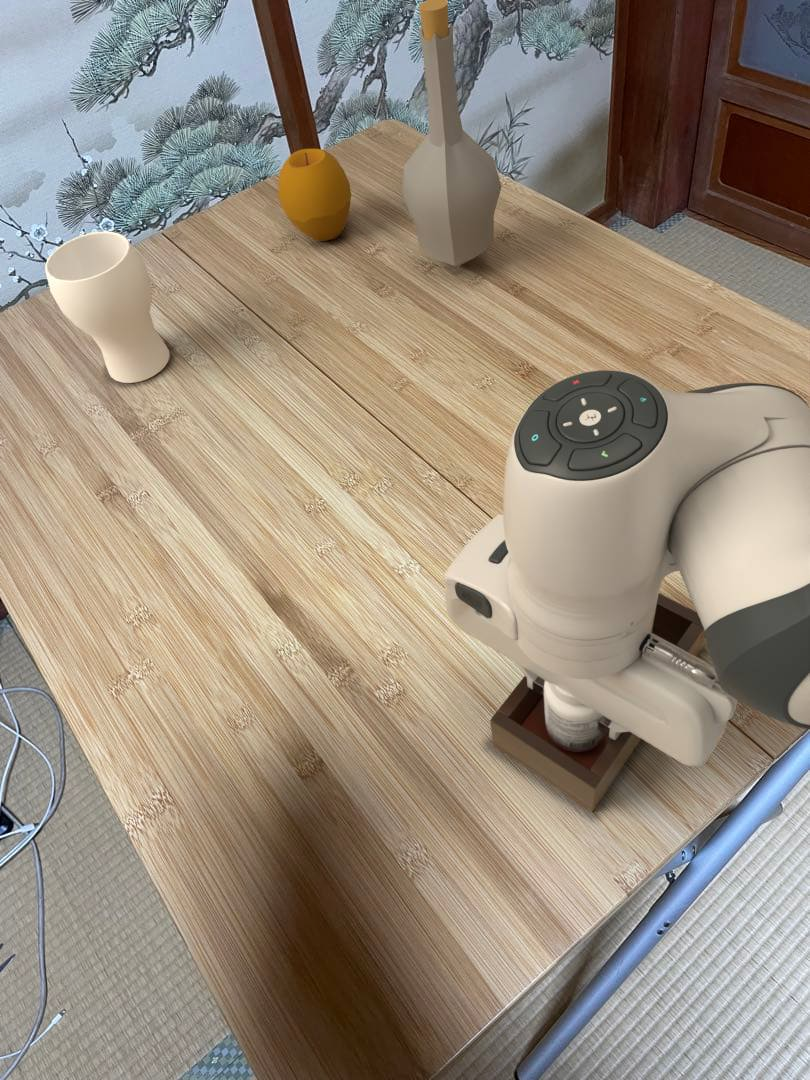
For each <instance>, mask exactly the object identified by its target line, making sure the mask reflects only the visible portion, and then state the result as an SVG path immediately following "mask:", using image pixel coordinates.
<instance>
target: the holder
mask: <svg viewBox="0 0 810 1080" xmlns="http://www.w3.org/2000/svg"><path fill="white" fill-rule="evenodd" d="M704 632H705V630H704V627H703V625H702V623H701V620H700V618H699V616H698V613H697V611H696V610H693V609H691V608H689V607H687V606H685V605H683V604H681V603H679V602H678V601H676V600H674V599H671V598H670V597H668V596H666V595H663V594H661V593H660V592H659V594H658V600H657V605H656V611H655V617H654V623H653V628H652V633H653V634H655V635H656V636H658V637H660V638H662V639H664V640H666V641H668V642H669V643H671V644H673V645H675V646H677V647H679V648H681V649H683V650H684V651H686V652H688V653H690V654H692V655H694V656H696V657H697V658H698V655H699V654H700V652H701V651H702V649H703V646H704V643H705V637H704ZM489 722H490V731H491V737H492V740H491V741H492V746H493V747H495V748H496V749H497V750H499V751H501V752H502V753H504V754H505V755H507V756H508V757H509V758H511V759H512V760H514V761H515V762H516V763H518V764H520V765H521V766H523V767H524V768H526V769H527V770H528V771H530V772H532V773H533V774H534V775H536V776H537V777H539V778H540V779H542V780H544V781H545V782H546V783H548V784H549V785H550V786H552V787H553V788H555V789H557V790H558V791H560V792H562V793H563V794H564V795H566V796H567V797H569V798H570V799H572V800H573V801H575V802H576V803H578V804H579V805H580V806H582V807H584V809H586V810H588V811H589V812H591V813H592V812H593V811H594V810H595V808H596V807H597V805H598V804H599V803H600V801H601V799H602V798H603V797H604V795H605V793H606V792H607V791H608V789H609V788H610V786H611V785H612V783H613V782H614V780H615V779H616V778H617V776H618V774H619V773H620V771H621V770H622V768H623V767H624V765H625V764H626V762H627V761H628V759H629V758H630V756H631V755H632V753H633V752H634V751H635V749H636V748H637V746H638V745H639V743H640V742H641V740H642V739H641V738H639V737H638V736H636V735H634V734H633V733H631V732H621V734H620V735H619V736H618V738H617V739H616V740H613V739H612V738H610V737H609V736H607V735H606V734H605V737H604V738H603V740H602V741H601V742H600V743H599V744H598V745H597V746H596V747H594V748H592V749H590V750H588V751H583V752H573V751H568V750H566V749H563V748H562V747H560V746H558V745H557V744H556V743H555V742H554V741H553V740H552V739H551V738H550V736H549V734H548V732H547V730H546V725H545V707H544V696H542V695H541V694H539V693H537V692H535V691H534V690H532V689H531V688H529V687H528V686H527V677H525V675H523V677H522V678H521V680H520V681H519V682H518V684H517V685H516V687H514V688H513V690H512V691H511V693H510V694H509V695H508V697H507V698H506V699H505V700H504V701H503V703H502V704H501V705H500V707H499V708H498V709H497V710H496V712H495V713H494V714H493V716H492V717H491V718H490V720H489Z"/></svg>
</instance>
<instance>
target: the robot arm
mask: <svg viewBox="0 0 810 1080" xmlns="http://www.w3.org/2000/svg"><path fill="white" fill-rule="evenodd" d="M502 487H503V488H502V513H500V514H496V515H495V516H494V517H492V519H490V520H489V521H488V522H487V523H486V524H485V525H484V526H482V527H481V528H480V529H479V531H478V532H476V534H475V535H473V537H472V538H471V539H470V540H469V541H468V542H467V543H466V545H464V546H463V548H462V549H461V550H460V551H459V552H458V554H457V555H456V556H455V558H454V559H453V560H452V562H451V563H450V565H449V566H448V567H447V569H446V570H445V572H444V574H443V583H444V585H445V588H444V602H445V608H446V613H447V615H448V617H449V619H450V621H452V623H453V624H454V625H455V626H456V627H457V628H458V629H459V630H461V631H462V632H463V633H466V634H467V635H469V636H471V637H473V638H474V639H476V640H477V641H479V642H480V643H482V644H485V645H486V646H487V647H489V648H490V649H492V650H494V651H495V652H498V653H499V654H500V655H502V656H504V657H506V658H507V659H509V660H510V661H512V662H513V663H514V664H515V665H516V667H517V668H518V669H519V670H520V672H521V673H522V674H523V676H525V677H527V686H528V687H529V688H531V689H532V690H534V691H535V692H537V693H539V694H541V695H542V696H544V682H545V681H547V682H548V683H550V684H554V685H556V686H557V687H559V688H561V689H562V690H564V691H566V692H567V693H569V694H571V695H572V696H574V697H575V698H576V699H577V700H578V701H580V702H581V703H583V704H585V705H586V706H588V707H590V708H591V709H593V710H595V711H596V712H598V713H600V714H601V715H603V716H602V717H601V718H600V719H599V720H598V728H597V729H598V730H599V731H601V732H602V733H604V734H606V735H607V736H609V737H610V738H612V739H613V740H616V739H617V738H618V736H619V735H620V734H621V732H631V733H633V734H634V735H636V736H638V737H639V738H641V740H643V741H644V742H646V743H647V744H649V745H651V746H652V747H654V748H656V749H657V750H659V751H661V752H663V753H664V754H665V755H667V756H669V757H670V758H672V759H674V760H676V761H677V762H679V763H680V764H682V765H684V766H687V767H702V766H704V765H705V764H706V762H707V761H708V759H709V758H710V756H712V754H713V752H714V751H715V749H716V747H717V745H718V744H719V742H720V740H721V738H722V737H723V735H724V733H725V731H726V729H727V726H728V721H730V720H731V719H732V718H733V717H734V715H735V713H736V709H737V707H738V702H740V703H741V704H743V705H745V706H747V707H749V708H750V709H753V710H754V711H756V712H759V713H760V714H762V715H764V716H767V717H769V718H772V719H774V720H776V721H779V722H781V723H784V724H787V725H790V726H794V727H796V728H800V729H805V730H810V406H809V404H808V402H807V401H806V400H805V399H804V398H803V397H801V396H800V395H799V394H797V393H796V392H794V391H792V390H790V389H788V388H786V387H782V386H779V385H775V384H770V383H762V382H760V383H759V382H738V383H737V382H735V383H726V384H720V385H714V386H709V387H703V388H699V389H694V390H689V391H684V392H683V391H676V390H671V389H667V388H665V387H663V386H661V385H659V384H658V383H656V382H654V381H653V380H652V379H649V378H648V377H645V376H643V375H640V374H637V373H635V372H630V371H626V370H619V369H618V370H617V369H597V370H590V371H585V372H580V373H577V374H573V375H570V376H567V377H565V378H563V379H561V380H558V381H557V382H555V383H553V384H552V385H550V386H549V387H547V388H546V389H544V390H543V391H542V392H540V393H539V394H538V395H537V396H536V397H535V398H534V399H533V400H532V401H531V402H530V404H529V405H528V406H527V408H526V409H525V410H524V412H523V414H522V415H521V417H520V419H519V420H518V422H517V423H516V425H515V428H514V430H513V432H512V435H511V438H510V441H509V445H508V448H507V453H506V459H505V466H504V475H503V486H502ZM675 572H679V574H680V576H681V578H682V581H683V583H684V585H685V588H686V590H687V593H688V595H689V597H690V599H691V601H692V604H693V606H694V608H695V612H697V613H698V616H699V618H700V620H701V623H702V625H703V627H704V630H705V632H704V637H705V639H704V641H705V643H706V645H707V650H708V653H709V656H710V658H711V661H712V664H713V666H712V665H710V664H709V663H708V662H706V661H704V660H703V659H701V658H700V657H698V656H697V657H696V656H694V655H692V654H690V653H688V652H686V651H684V650H683V649H681V648H679V647H677V646H675V645H673V644H671V643H669V642H668V641H666V640H664V639H662V638H660V637H658V636H656V635H655V634H653V633H652V628H653V623H654V617H655V611H656V605H657V600H658V594H659V593H660V588H661V585H662V583H663V580H664V579H665V578H666V577H667V576H668V575H670V574H672V573H675Z"/></svg>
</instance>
